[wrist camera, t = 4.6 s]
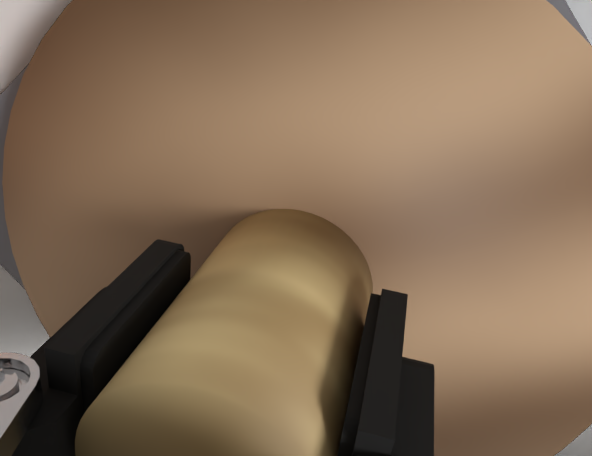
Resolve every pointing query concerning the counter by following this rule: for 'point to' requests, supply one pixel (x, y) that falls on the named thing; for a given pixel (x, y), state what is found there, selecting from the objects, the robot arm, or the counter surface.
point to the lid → (315, 212)
